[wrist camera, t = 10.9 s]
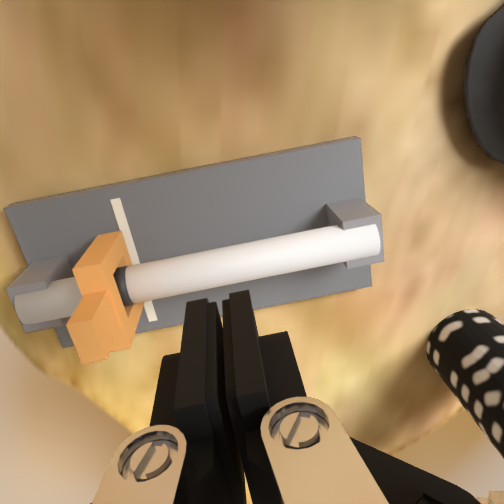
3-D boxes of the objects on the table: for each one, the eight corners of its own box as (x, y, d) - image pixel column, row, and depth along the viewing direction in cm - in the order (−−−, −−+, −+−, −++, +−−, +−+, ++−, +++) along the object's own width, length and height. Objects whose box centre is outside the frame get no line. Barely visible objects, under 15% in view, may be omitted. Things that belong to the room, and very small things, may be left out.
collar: (121, 230, 35) (84, 290, 25) (144, 302, 38) (119, 383, 28) (98, 235, 35) (51, 297, 25) (122, 307, 38) (89, 389, 28)
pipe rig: (355, 136, 36) (388, 148, 29) (366, 279, 42) (397, 319, 35) (11, 203, 36) (-37, 232, 29) (67, 339, 41) (38, 391, 34)
